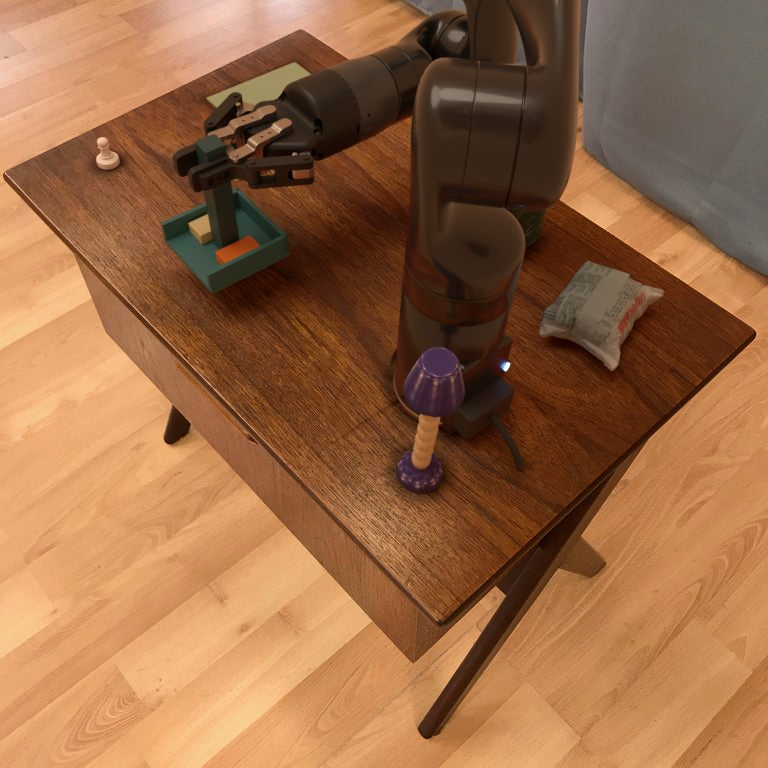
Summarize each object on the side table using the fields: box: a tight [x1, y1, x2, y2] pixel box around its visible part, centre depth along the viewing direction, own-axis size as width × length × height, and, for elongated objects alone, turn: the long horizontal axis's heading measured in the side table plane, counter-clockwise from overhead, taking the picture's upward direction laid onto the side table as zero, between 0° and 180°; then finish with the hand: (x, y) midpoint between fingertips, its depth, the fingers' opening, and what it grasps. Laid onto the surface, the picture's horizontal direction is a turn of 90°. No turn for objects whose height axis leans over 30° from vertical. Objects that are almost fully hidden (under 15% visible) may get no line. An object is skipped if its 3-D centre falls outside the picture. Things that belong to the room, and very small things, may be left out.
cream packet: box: [188, 214, 212, 244], centre depth 80 cm, size 2×4×1 cm, turn 129°
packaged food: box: [538, 260, 665, 372], centre depth 80 cm, size 9×12×5 cm
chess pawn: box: [95, 136, 121, 171], centre depth 93 cm, size 3×3×4 cm
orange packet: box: [215, 235, 260, 265], centre depth 78 cm, size 2×4×1 cm, turn 129°
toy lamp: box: [395, 347, 465, 494], centre depth 64 cm, size 5×5×17 cm
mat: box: [206, 61, 312, 109], centre depth 102 cm, size 14×14×1 cm
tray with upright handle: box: [160, 134, 291, 295], centre depth 75 cm, size 9×9×13 cm
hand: (184, 174), depth 70 cm, fingers closed on tray with upright handle
